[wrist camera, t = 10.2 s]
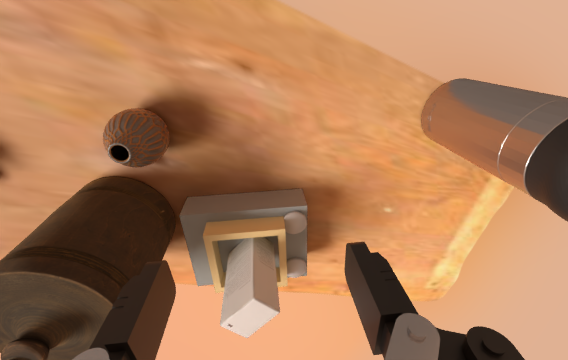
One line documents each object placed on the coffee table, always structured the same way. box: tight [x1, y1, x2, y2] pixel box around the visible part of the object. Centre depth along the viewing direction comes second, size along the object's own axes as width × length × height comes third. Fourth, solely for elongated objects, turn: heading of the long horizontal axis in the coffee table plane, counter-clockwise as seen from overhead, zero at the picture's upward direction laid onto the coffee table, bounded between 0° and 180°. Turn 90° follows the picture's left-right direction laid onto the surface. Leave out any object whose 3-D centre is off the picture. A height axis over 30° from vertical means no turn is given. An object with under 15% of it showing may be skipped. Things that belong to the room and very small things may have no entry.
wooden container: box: [0, 177, 175, 360], centre depth 33 cm, size 15×15×22 cm
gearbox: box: [179, 189, 307, 293], centre depth 42 cm, size 18×14×8 cm
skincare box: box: [220, 237, 280, 338], centre depth 36 cm, size 6×4×12 cm
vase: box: [103, 108, 169, 167], centre depth 32 cm, size 7×7×9 cm
